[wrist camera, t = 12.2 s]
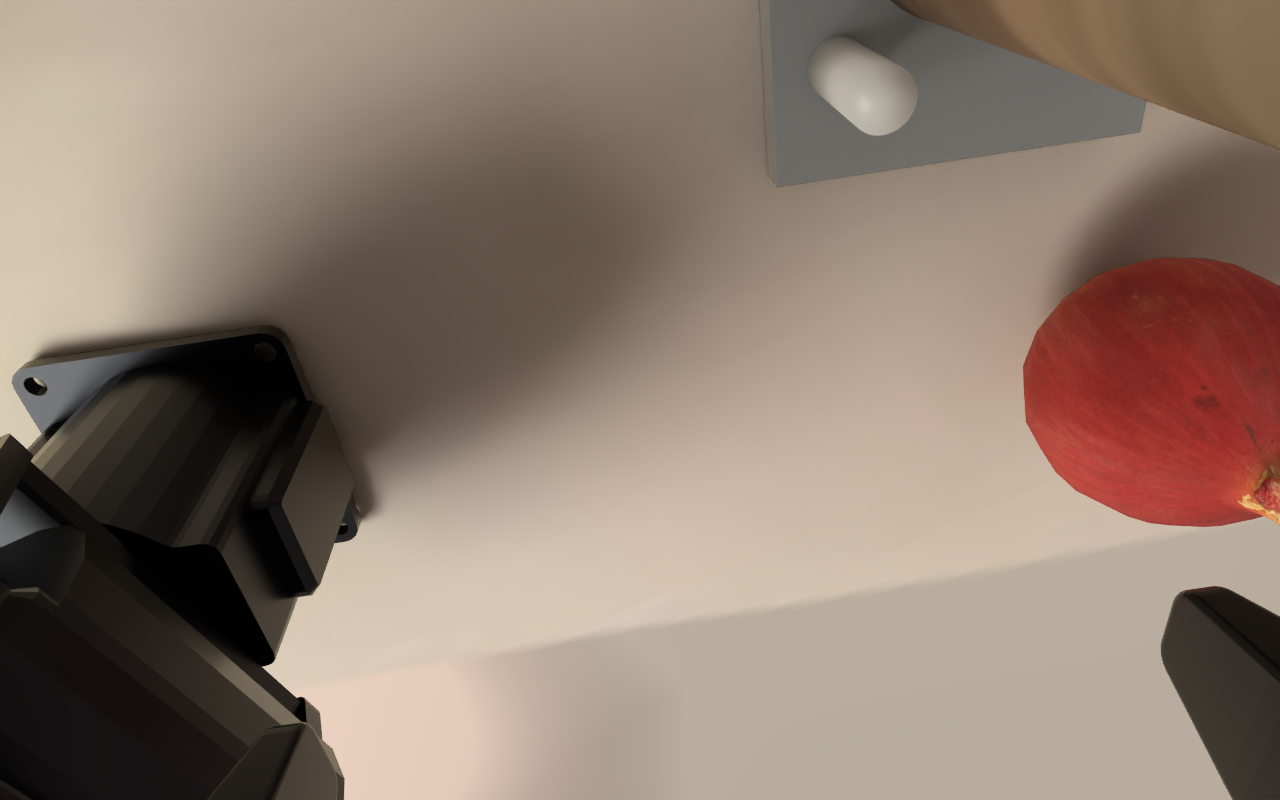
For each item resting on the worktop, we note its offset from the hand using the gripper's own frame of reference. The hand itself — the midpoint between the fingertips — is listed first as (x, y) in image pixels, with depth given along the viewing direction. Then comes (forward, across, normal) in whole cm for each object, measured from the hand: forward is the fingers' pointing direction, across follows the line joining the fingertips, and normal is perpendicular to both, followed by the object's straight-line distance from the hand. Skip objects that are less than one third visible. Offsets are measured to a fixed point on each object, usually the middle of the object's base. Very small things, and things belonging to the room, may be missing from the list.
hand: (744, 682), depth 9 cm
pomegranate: (+13, -11, +4) cm, 18 cm away
